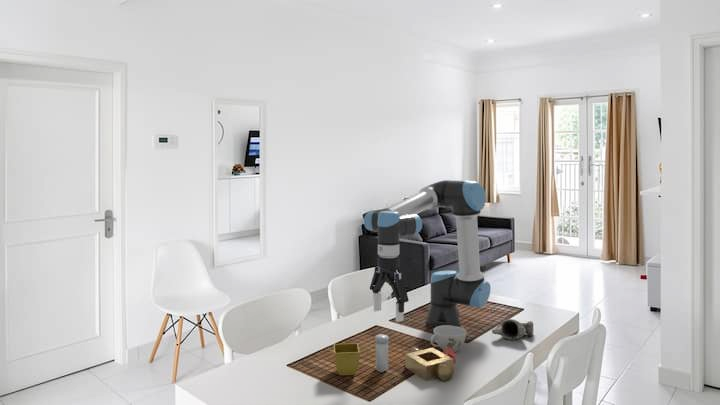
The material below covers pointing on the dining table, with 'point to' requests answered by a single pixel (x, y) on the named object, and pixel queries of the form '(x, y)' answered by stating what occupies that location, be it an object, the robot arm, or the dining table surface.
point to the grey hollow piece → (513, 329)
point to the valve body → (431, 363)
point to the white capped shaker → (381, 352)
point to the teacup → (449, 337)
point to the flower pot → (346, 358)
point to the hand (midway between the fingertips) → (388, 315)
